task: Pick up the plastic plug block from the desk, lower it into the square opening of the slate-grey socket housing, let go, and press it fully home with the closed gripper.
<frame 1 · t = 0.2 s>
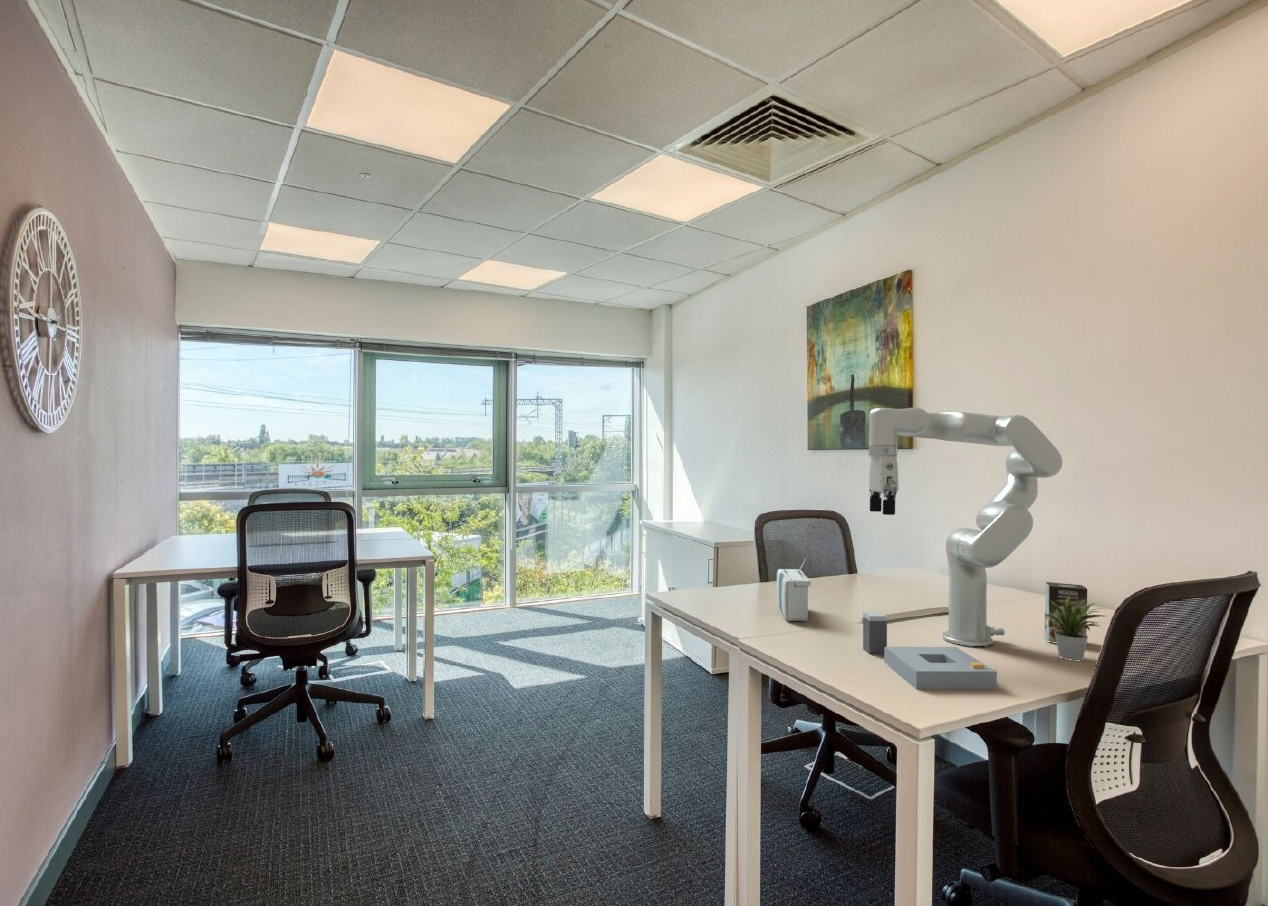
hand: (881, 513, 179), 36 cm above the table, tool pointing down, fingers open, 9 cm apart
house plant: (1070, 660, 163), on the table
coffee box: (1065, 642, 178), on the table
stereo radio cassette player: (792, 615, 208), on the table
socket: (937, 675, 151), on the table
plug: (874, 651, 169), on the table
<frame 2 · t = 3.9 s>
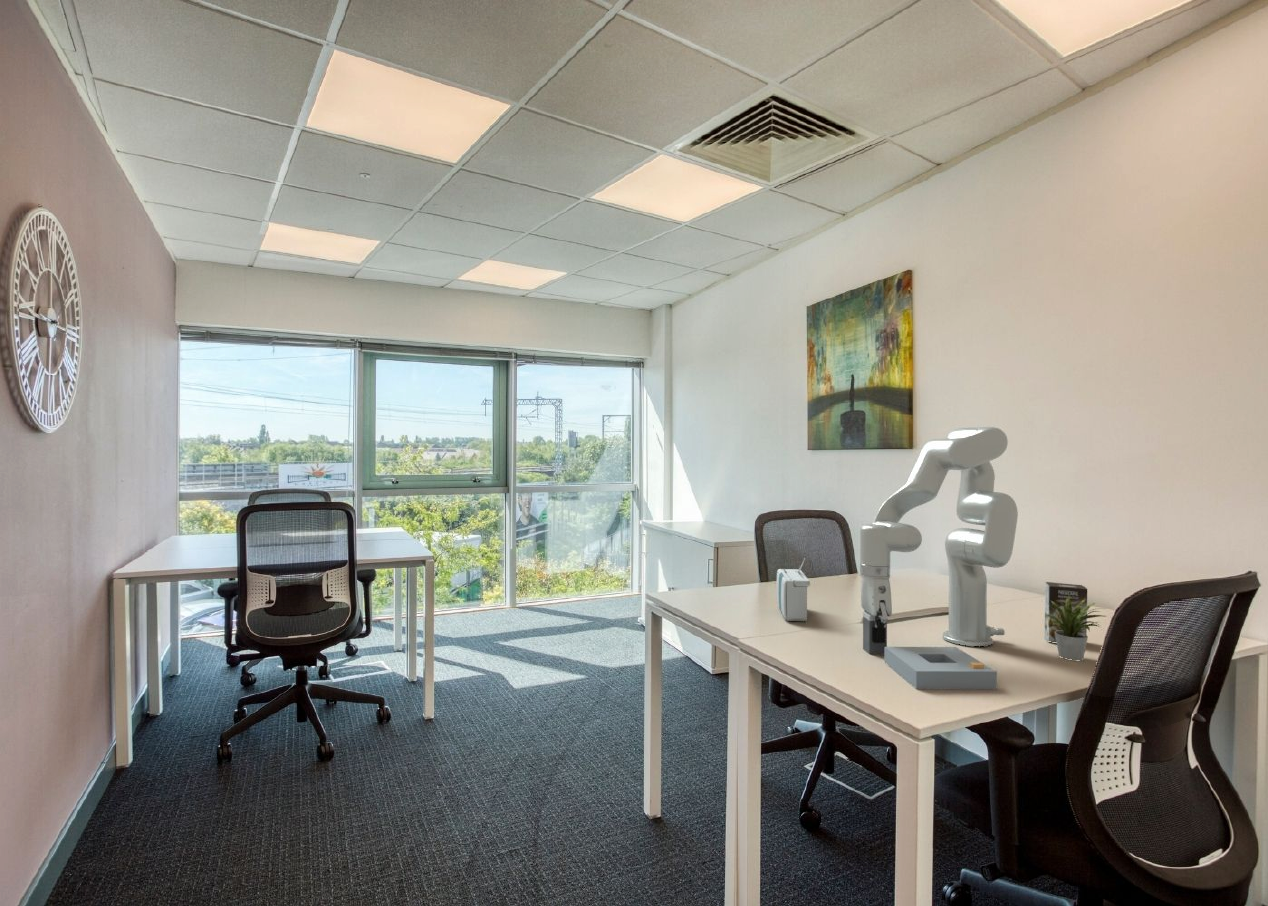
hand: (874, 638, 169), 3 cm above the table, tool pointing down, fingers closed on plug, 4 cm apart
plug: (874, 651, 169), on the table, touching gripper
everything else where it was.
when the fingers open (5 cm above the table, at t = 10.8 s): plug drops 2 cm, resting in socket.
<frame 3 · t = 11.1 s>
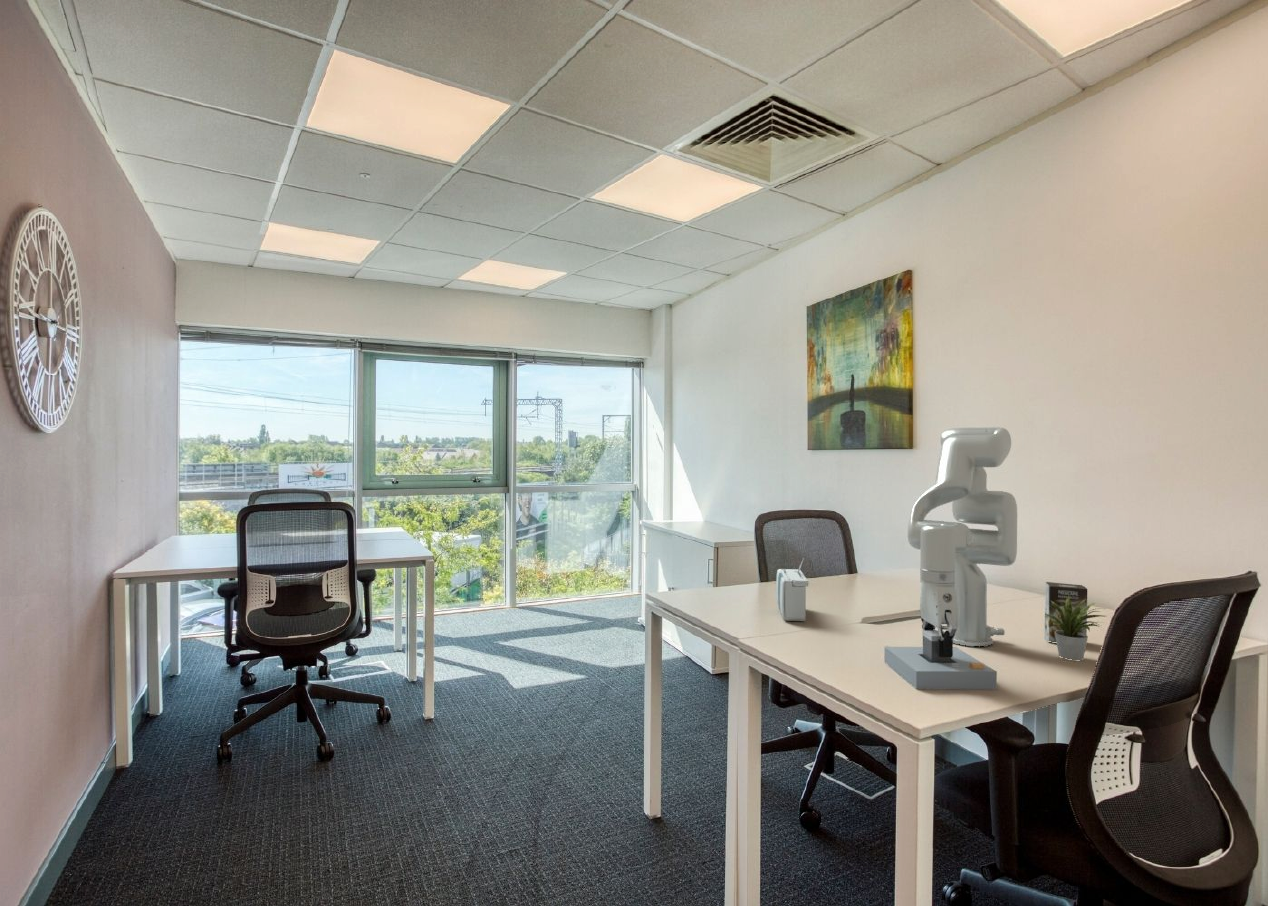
hand: (937, 651, 151), 6 cm above the table, tool pointing down, fingers open, 7 cm apart
plug: (936, 675, 151), resting in socket
everything else where it was.
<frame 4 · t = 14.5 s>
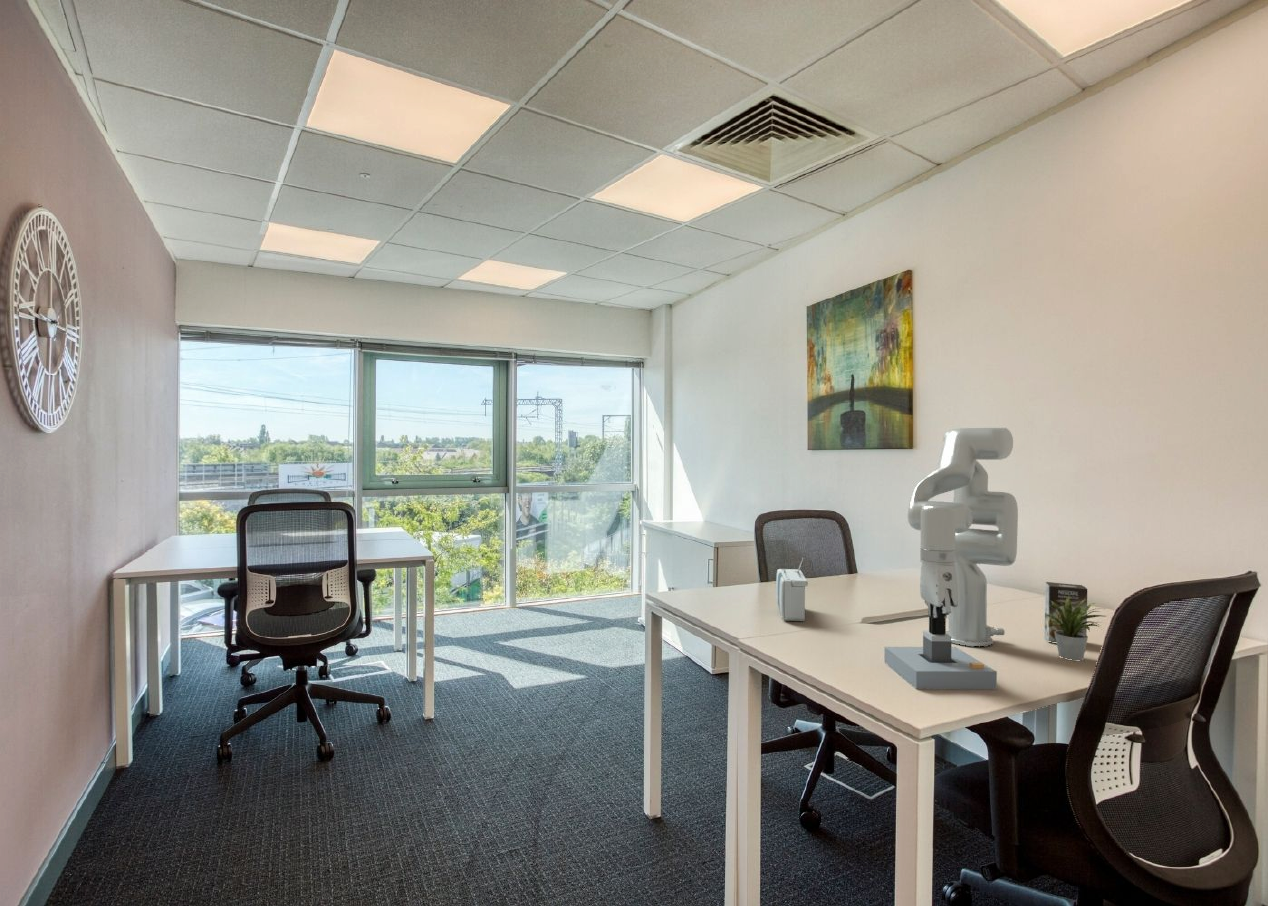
hand: (937, 633, 151), 10 cm above the table, tool pointing down, fingers closed
plug: (936, 675, 151), resting in socket, touching gripper
everything else where it was.
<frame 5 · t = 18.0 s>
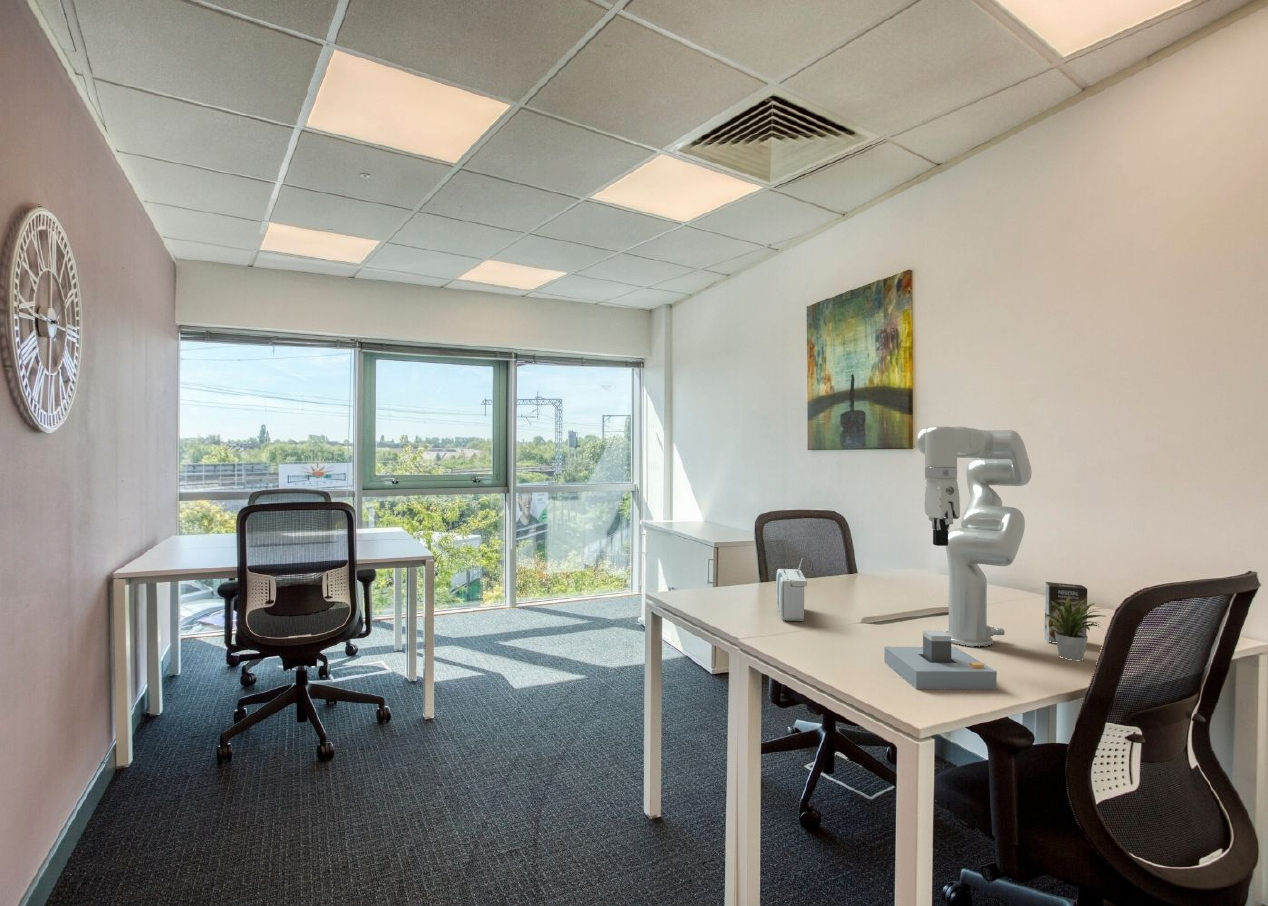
hand: (940, 545, 164), 29 cm above the table, tool pointing down, fingers closed
plug: (936, 675, 151), resting in socket
everything else where it was.
at the end: plug 0.1 cm off-centre on the socket, point 0.0 cm above the socket's base; plug tilted 0°; the gripper is holding nothing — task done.
